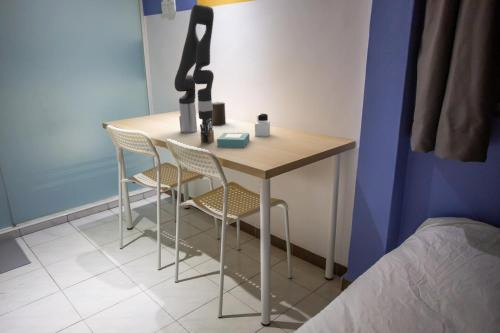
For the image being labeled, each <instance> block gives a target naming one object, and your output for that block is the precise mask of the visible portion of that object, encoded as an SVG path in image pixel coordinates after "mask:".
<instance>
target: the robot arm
mask: <svg viewBox="0 0 500 333" xmlns="http://www.w3.org/2000/svg"><path fill="white" fill-rule="evenodd" d="M214 13H215V12H214V9H213V7H212V6H209V5H202V4H199V3H194V4H193V5H192V8H191V10H190V15H189V22H188V28H187V33H186V37H185V42H184V45H183V50H182V54H181V58H180V62H179V65H178V70H177V71H176V75H175V78H174V88H175V90H176V91H177V92H179V93H181V92H183V93H184V94H183V95H182V96H181V97H179V99H178V103H179V129H180V133H185V134H187V133H191V134H192V133H195V132H197V131H198V126H197V125H198V124H197V111H198V118H199V120H201V124H199V127H200V132H201V133H200V136H201V135H203V138H204V142H208V131H209V130H213V125H212V118H213V106H212V103H213V101H212V98H213V97H212V90H213V89H212V88H213V83H214V80H215V79H214V77H215V76H214V73H213V70H211V69H203V68H205V67H207V66H209V65H210V64H211V44H212V43H211V42H212V37H213V36H212V35H213V29H214V19H215V18H214V15H215V14H214ZM197 25H203V26H205V31H204V33H203V35H202V37H201V38H200V39H199V36H198V34H197ZM194 66H195V67H194ZM193 67H194V68H193ZM192 68H193V74H189V72H190V71H191V69H192ZM196 85H206V86H205V87H203V88H201V89H198V90H197V109H198V110H197V109H196ZM196 110H197V111H196ZM204 131H205V133H204Z"/></svg>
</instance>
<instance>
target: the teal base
mask: <svg viewBox="0 0 500 333" xmlns="http://www.w3.org/2000/svg"><path fill="white" fill-rule="evenodd" d="M249 142H250V133H248V132H224V133H222V134H220V136H219V137H217V138H216V143H217V144H216V145H217V148H218V147H220V148H245V147H246V146H247V144H248V143H249Z"/></svg>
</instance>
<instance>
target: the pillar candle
mask: <svg viewBox="0 0 500 333" xmlns="http://www.w3.org/2000/svg"><path fill="white" fill-rule="evenodd" d="M212 106H213V118H212V126H223V125H226V124H227V122H226V119H227V118H226V103H225V102H223V101H219V102H218V101H215V102H212Z"/></svg>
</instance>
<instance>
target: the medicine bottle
mask: <svg viewBox="0 0 500 333" xmlns="http://www.w3.org/2000/svg"><path fill="white" fill-rule="evenodd" d="M268 119H269V118H268V114H267V113H258V114H257V115H256V122H255V123H254V136H255V137H265V138H266V137H268V136H269V135H271V122H270V121H268Z"/></svg>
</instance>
